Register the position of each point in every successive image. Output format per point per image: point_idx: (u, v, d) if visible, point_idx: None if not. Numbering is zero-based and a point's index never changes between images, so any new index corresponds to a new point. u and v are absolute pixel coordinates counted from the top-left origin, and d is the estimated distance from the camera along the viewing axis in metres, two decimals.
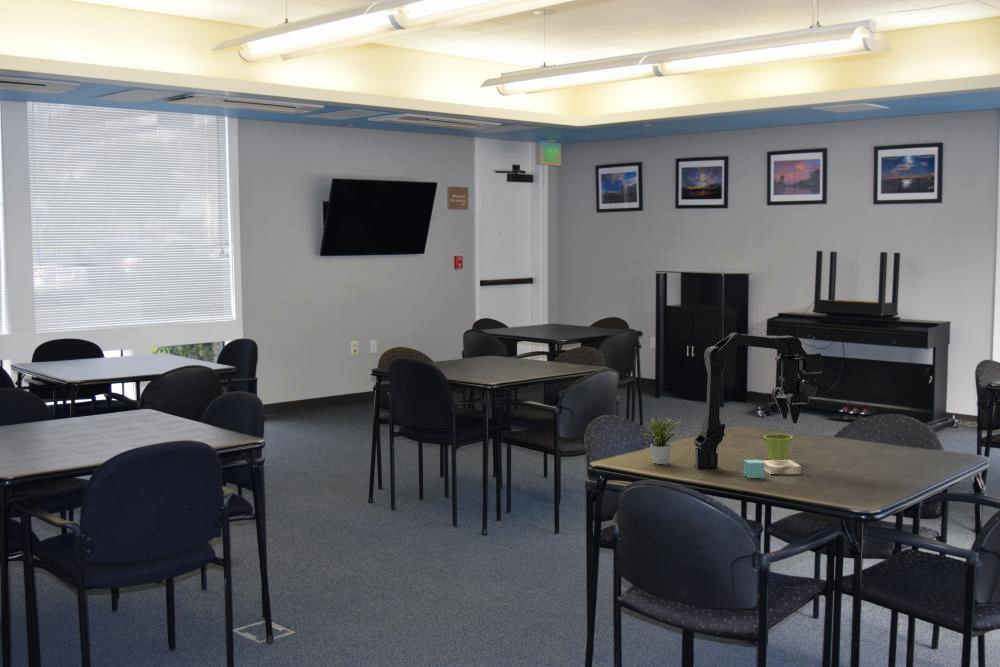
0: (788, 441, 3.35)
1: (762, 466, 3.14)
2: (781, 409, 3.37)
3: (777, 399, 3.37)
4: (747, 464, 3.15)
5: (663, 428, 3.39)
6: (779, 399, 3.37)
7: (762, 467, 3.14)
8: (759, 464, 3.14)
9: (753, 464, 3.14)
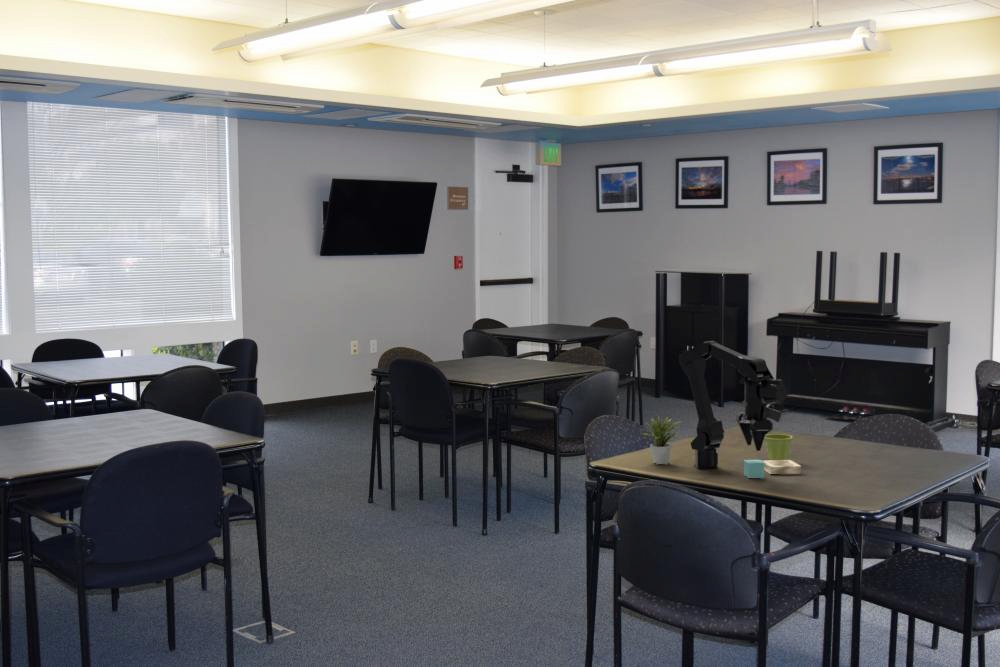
0: (788, 441, 3.35)
1: (762, 466, 3.14)
2: (745, 435, 3.20)
3: (741, 424, 3.21)
4: (747, 464, 3.15)
5: (663, 428, 3.39)
6: (743, 424, 3.21)
7: (762, 467, 3.14)
8: (759, 464, 3.14)
9: (753, 464, 3.14)
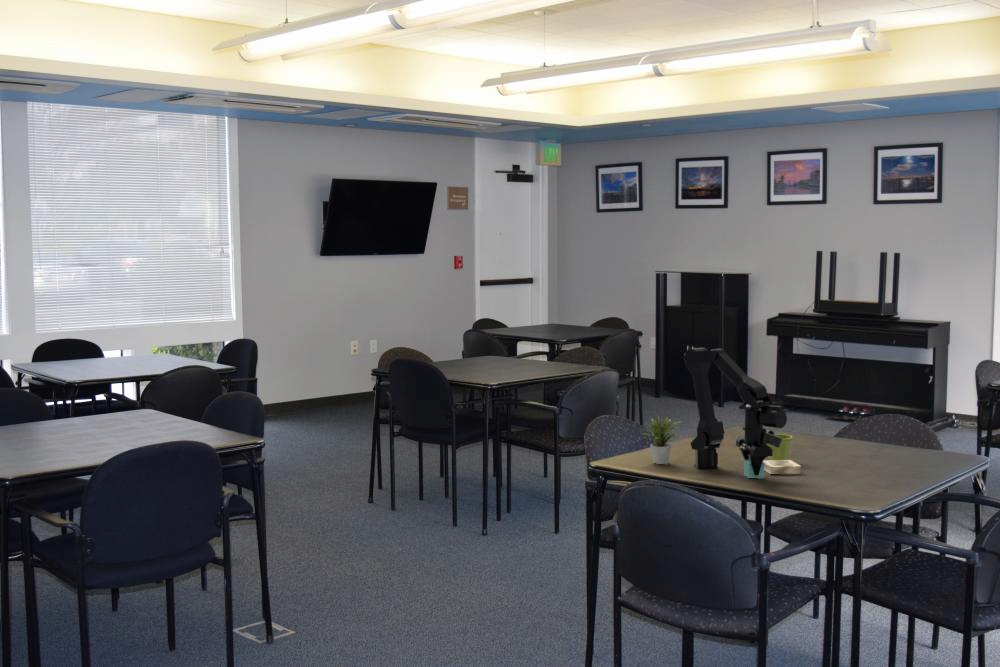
0: (788, 441, 3.35)
1: (762, 466, 3.14)
2: None
3: (743, 451, 3.19)
4: (747, 464, 3.15)
5: (663, 428, 3.39)
6: (745, 451, 3.19)
7: (762, 467, 3.14)
8: None
9: None
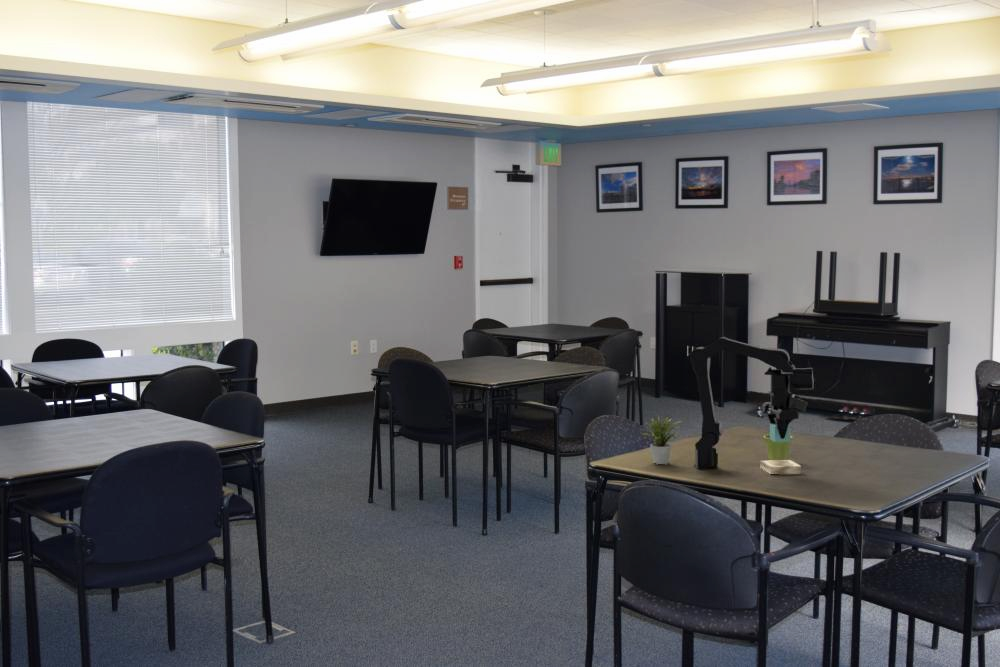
0: None
1: (788, 429, 3.20)
2: None
3: (769, 415, 3.26)
4: (773, 427, 3.21)
5: (663, 428, 3.39)
6: (771, 415, 3.26)
7: (788, 430, 3.21)
8: None
9: None
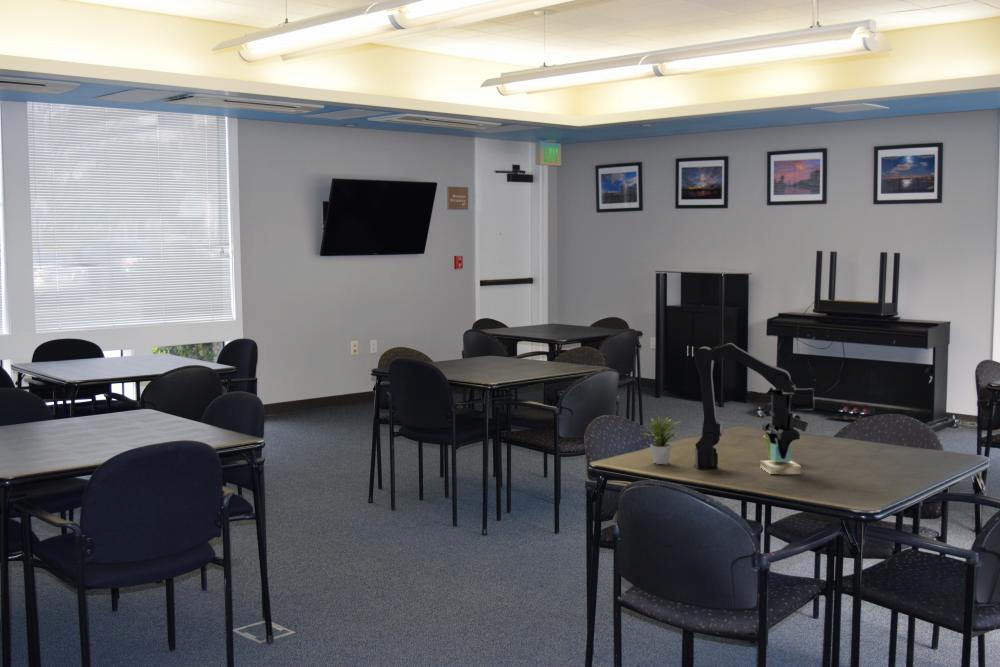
0: None
1: (789, 449, 3.22)
2: None
3: (769, 435, 3.27)
4: (774, 447, 3.22)
5: (663, 428, 3.39)
6: (771, 435, 3.27)
7: (789, 450, 3.22)
8: None
9: None
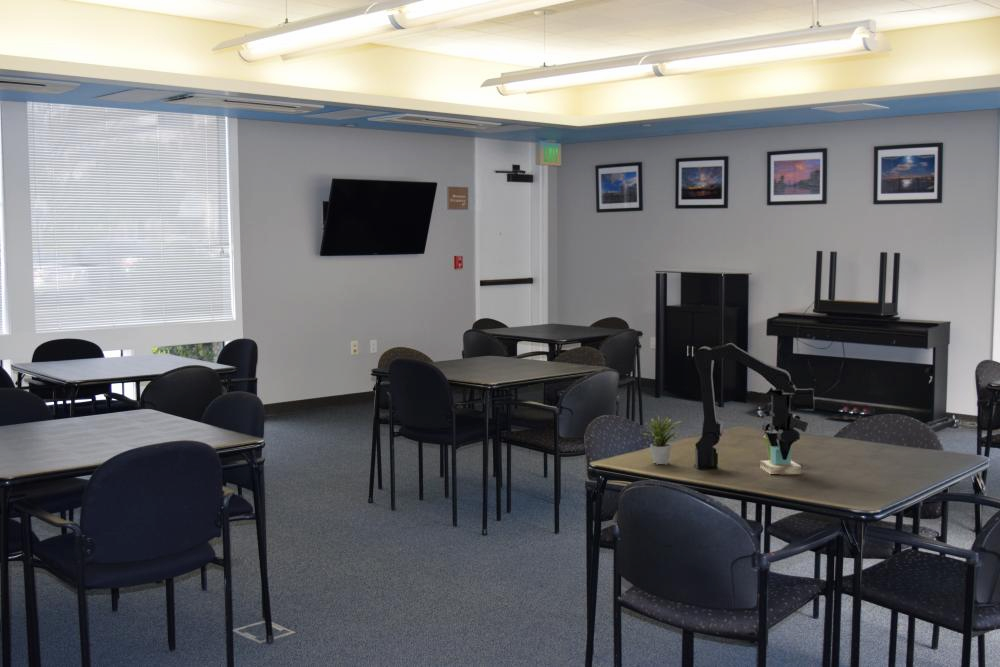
0: None
1: (789, 452, 3.22)
2: (772, 445, 3.28)
3: (768, 434, 3.28)
4: (774, 450, 3.22)
5: (663, 428, 3.39)
6: (770, 434, 3.28)
7: (789, 453, 3.22)
8: None
9: None
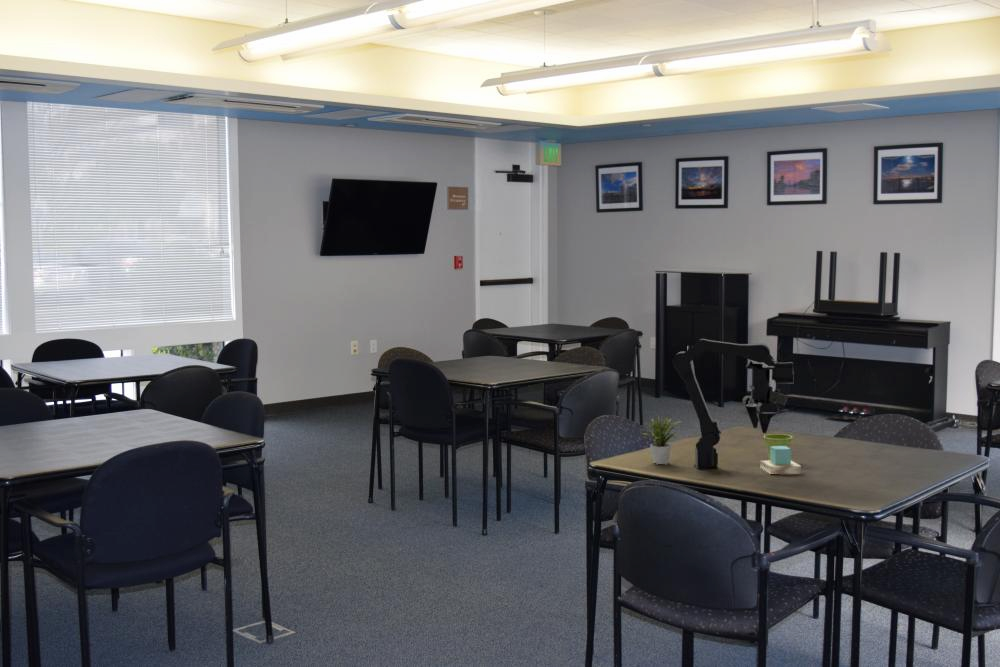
0: (788, 441, 3.35)
1: (789, 452, 3.22)
2: (751, 418, 3.30)
3: (747, 408, 3.30)
4: (774, 450, 3.22)
5: (663, 428, 3.39)
6: (749, 408, 3.30)
7: (789, 453, 3.22)
8: (786, 450, 3.22)
9: (780, 450, 3.21)
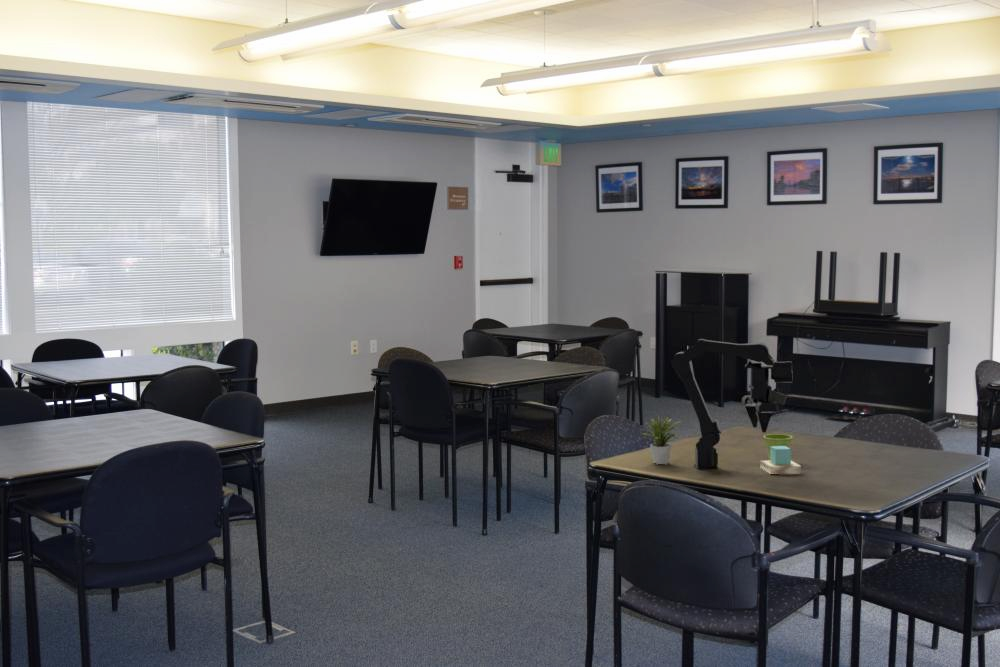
0: (788, 441, 3.35)
1: (789, 452, 3.22)
2: (751, 418, 3.30)
3: (747, 407, 3.30)
4: (774, 450, 3.22)
5: (663, 428, 3.39)
6: (749, 407, 3.31)
7: (789, 453, 3.22)
8: (786, 450, 3.22)
9: (780, 450, 3.21)
